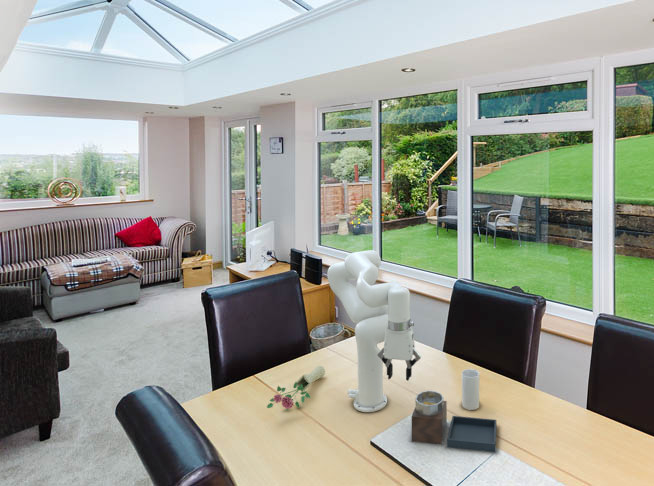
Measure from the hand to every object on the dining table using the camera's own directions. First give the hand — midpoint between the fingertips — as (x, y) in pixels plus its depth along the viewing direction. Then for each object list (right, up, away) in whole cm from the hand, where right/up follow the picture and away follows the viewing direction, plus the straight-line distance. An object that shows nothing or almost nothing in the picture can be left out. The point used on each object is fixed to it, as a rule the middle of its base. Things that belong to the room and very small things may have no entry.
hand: (399, 377), depth 146 cm
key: (+11, -9, -1) cm, 14 cm away
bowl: (+10, -9, -2) cm, 14 cm away
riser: (+10, -17, -2) cm, 20 cm away
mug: (+26, -18, +15) cm, 35 cm away
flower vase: (-39, -19, +19) cm, 47 cm away
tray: (+25, -17, -5) cm, 31 cm away
